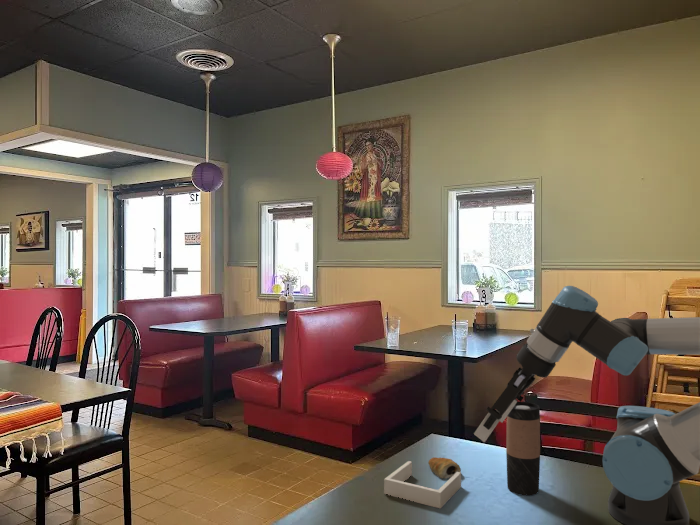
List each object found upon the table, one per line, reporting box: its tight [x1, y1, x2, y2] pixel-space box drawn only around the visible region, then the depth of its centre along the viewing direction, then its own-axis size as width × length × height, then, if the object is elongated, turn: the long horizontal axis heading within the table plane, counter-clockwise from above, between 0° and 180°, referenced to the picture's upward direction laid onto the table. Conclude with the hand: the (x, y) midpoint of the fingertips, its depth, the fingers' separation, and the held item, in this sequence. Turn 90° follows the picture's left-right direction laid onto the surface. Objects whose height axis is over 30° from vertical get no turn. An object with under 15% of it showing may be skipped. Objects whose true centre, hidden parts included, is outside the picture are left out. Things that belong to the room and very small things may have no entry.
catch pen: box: [383, 460, 462, 509], centre depth 128 cm, size 14×13×4 cm
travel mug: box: [505, 401, 541, 497], centre depth 128 cm, size 8×8×20 cm
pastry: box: [427, 457, 462, 480], centre depth 140 cm, size 9×7×4 cm
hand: (488, 427), depth 121 cm, fingers open, 13 cm apart
